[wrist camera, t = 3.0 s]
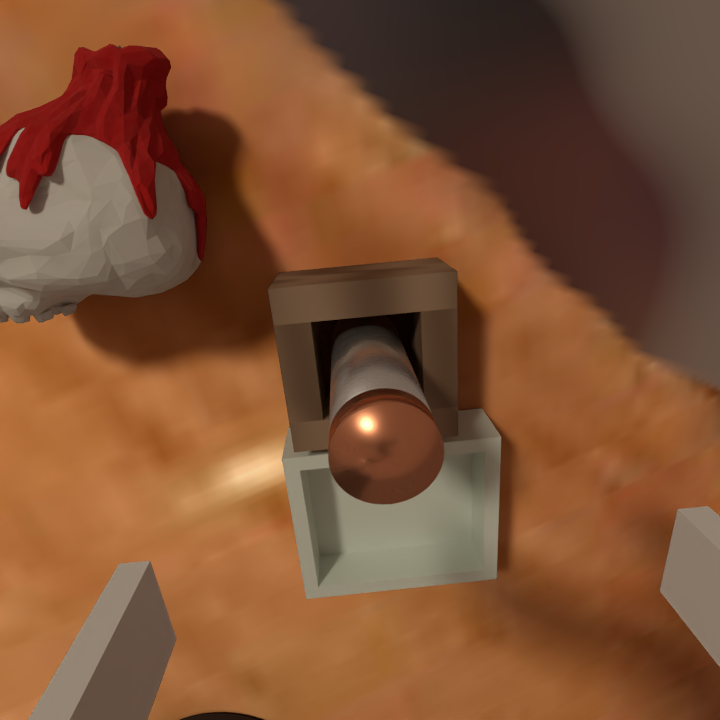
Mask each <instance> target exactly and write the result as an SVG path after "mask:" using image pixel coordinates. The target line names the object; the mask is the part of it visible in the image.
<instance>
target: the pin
mask: <svg viewBox="0 0 720 720" xmlns="http://www.w3.org/2000/svg"><path fill="white" fill-rule="evenodd" d="M443 460H444V443H443V439H442V436H441V434H440V432H439V429H438V427H437V425H436V422H435V420H434V418H433V415H432V413H431V410H430V408H429V406H428V403H427V401H426V399H425V396H424V394H423V392H422V389H421V387H420V384H419V382H418V380H417V377H416V375H415V373H414V370H413V368H412V366H411V363H410V361H409V358H408V356H407V354H406V351H405V349H404V347H403V344H402V342H401V340H400V337H399V335H398V333H397V330H396V328H395V325H394V324H393V322H392V321H391V319H390V318H389V317H388V316H387V315H379V316H369V317H359V318H348V319H340V320H339V321H338V323H337V324H336V326H335V328H334V331H333V335H332V356H331V385H330V415H329V445H328V463H329V468H330V471H331V474H332V476H333V478H334V479H335V481H336V482H337V484H338V485H339V486H340V487H341V488H342V489H343V490H344V491H345V492H346V493H348V494H349V495H351V496H352V497H354V498H356V499H358V500H361V501H364V502H367V503H372V504H382V505H384V504H395V503H400V502H403V501H406V500H409V499H411V498H413V497H415V496H417V495H419V494H420V493H422V492H423V491H424V490H426V489H427V488H428V487H429V486H430V485H431V484H432V483H433V482H434V480H435V479H436V477H437V476H438V474H439V472H440V470H441V467H442V465H443Z"/></svg>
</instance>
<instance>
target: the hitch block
mask: <svg viewBox="0 0 720 720" xmlns="http://www.w3.org/2000/svg"><path fill="white" fill-rule="evenodd" d="M268 294H269V300H270V306H271V313H272V319H273V325H274V331H275V337H276V344H277V350H278V356H279V362H280V368H281V374H282V381H283V387H284V393H285V399H286V405H287V412H288V418H289V424H290V430H291V436H292V442H293V449H294V452H304V451H314V450H324V449H328V445H329V415H330V385H325V378H324V370H323V362H322V354H321V346H320V338H319V330H318V322H317V321H327V320H338V319H348V318H359V317H369V316H379V315H390V314H400V313H408V316H409V336H410V357H411V366H412V368H413V370H414V373H415V375H416V377H417V380H418V382H419V384H420V387H421V389H422V392H423V394H424V396H425V399H426V401H427V403H428V406H429V408H430V410H431V413H432V415H433V418H434V420H435V422H436V425H437V427H438V429H439V432H440V434H441V436H442V438H444V437H454V436H458V301H457V271H456V270H455V269H453V268H452V267H450V266H449V265H448V264H446V263H445V262H443V261H442V260H440V259H439V258H428V259H418V260H407V261H397V262H386V263H375V264H365V265H354V266H343V267H333V268H322V269H312V270H301V271H290V272H280V273H279V274H278V275H277V276H276V278H275V279H274V281H273V282H272V284H271V285H270V286H269V288H268Z"/></svg>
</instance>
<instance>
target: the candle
mask: <svg viewBox="0 0 720 720" xmlns="http://www.w3.org/2000/svg"><path fill="white" fill-rule="evenodd" d="M170 69H171V65H170V61H169V60H168V59H167V57H166V56H165V55H164V54H163V53H162V52H161V51H160V50H159V49H157V48H150V47H142V46H127V47H123V48H121V47H120V46H118V47H117V46H115V45H112V44H109V45H107V46H105V47H103V48H102V49H100V50H98V51H91V50H89V49H86V48H84V47H81V48H78V50H77V51H76V53H75V58H74V66H73V73H72V80H71V82H70V84H69V86H68V88H67V90H66V91H65V92H64V94H63V95H62V96H60V97H59V98H57V99H55V100H53V101H51V102H48V103H46V104H44V105H42V106H40V107H37V108H35V109H32V110H29V111H25V112H22V113H19V114H16V115H15V116H14V117H12V118H11V119H10V120H8V121H7V122H6V123H4V124H2V125H1V126H0V323H2V322H7V321H8V317H10V318H11V319H12V320H13V321H14V322H16V323H24V322H28V321H30V316H31V315H33V316H34V317H35V319H36V320H37V321H38V322H39V323H40V322H44V321H47V320H50V319H52V318H53V317H54V315H58V314H61V313H62V314H63V315H64V316H67V315H70V314H72V313H75V311H76V308H77V304H78V303H79V302H81V301H82V300H84V299H85V298H86V297H88V296H90V295H92V294H97V295H109V296H121V297H134V298H136V297H142V296H147V295H153V294H159V293H162V292H165V291H167V290H169V289H171V288H174V287H175V286H177V285H179V284H181V283H182V282H184V281H186V280H188V278H189V277H190V276H191V275H192V274H193V273H194V272H195V271H196V270H197V268H198V266H199V264H200V262H201V261H203V257H204V249H205V242H206V228H207V216H206V204H205V198H204V195H203V192H202V191H201V189H200V187H199V186H198V184H197V183H196V181H195V180H194V179H193V177H192V176H191V175H190V173H189V172H188V171H187V170H186V168H185V167H184V166H183V165H182V164H181V162H180V158H179V155H178V152H177V150H176V148H175V147H174V145H173V143H172V142H171V140H170V138H169V137H168V135H167V133H166V130H165V128H164V126H163V122H162V116H161V110H162V109H164V108H165V107H166V106H167V98H168V97H167V91H166V79H167V76H168V74H169V71H170Z"/></svg>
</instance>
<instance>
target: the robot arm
mask: <svg viewBox="0 0 720 720" xmlns="http://www.w3.org/2000/svg"><path fill="white" fill-rule="evenodd" d="M660 592H661V593H662V594H663V596H664V597H665V598H666V600H667V601H668V602H669V603H670V605H671V606H672V607H673V608H674V610H675V611H676V612H677V613H678V615H679V616H680V617H681V619H682V620H683V621H684V622H685V624H686V625H687V626H688V627H689V629H690V630H691V631H692V633H693V634H694V635H695V636H696V638H697V639H698V640H699V641H700V643H701V644H702V645H703V647H704V648H705V649H706V650H707V652H708V653H709V654H710V655H711V657H712V658H713V659H714V660H715V662H716V663H717V664H718V666H719V667H720V516H719V515H718V514H716V513H715V512H714V511H713V510H712V509H711V508H710V507H708V506H706V507H696V508H686V509H678V510H677V515H676V519H675V524H674V528H673V533H672V538H671V542H670V547H669V551H668V556H667V560H666V565H665V569H664V574H663V579H662V583H661V588H660ZM175 642H176V636H175V633H174V630H173V627H172V624H171V621H170V618H169V615H168V612H167V609H166V606H165V603H164V600H163V597H162V594H161V591H160V589H159V586H158V583H157V580H156V577H155V574H154V571H153V568H152V565H151V562H150V561H144V562H133V563H123V564H119V565H118V567H117V568H116V570H115V572H114V573H113V575H112V577H111V579H110V580H109V582H108V584H107V585H106V587H105V589H104V591H103V592H102V594H101V596H100V597H99V599H98V601H97V603H96V604H95V606H94V608H93V609H92V611H91V613H90V615H89V616H88V618H87V620H86V621H85V623H84V625H83V627H82V628H81V630H80V632H79V633H78V635H77V637H76V639H75V640H74V642H73V644H72V645H71V647H70V649H69V651H68V652H67V654H66V656H65V657H64V659H63V661H62V663H61V664H60V666H59V668H58V669H57V671H56V673H55V675H54V676H53V678H52V680H51V681H50V683H49V685H48V687H47V688H46V690H45V692H44V693H43V695H42V697H41V699H40V700H39V702H38V704H37V705H36V707H35V709H34V711H33V712H32V714H31V716H30V717H29V719H28V720H147V719H148V717H149V714H150V711H151V708H152V706H153V703H154V700H155V697H156V694H157V692H158V689H159V686H160V683H161V681H162V678H163V675H164V672H165V669H166V667H167V664H168V661H169V658H170V656H171V653H172V650H173V647H174V645H175ZM182 720H258V719H255V718H251V717H247V716H243V715H237V714H226V713H213V714H203V715H196V716H192V717H188V718H184V719H182Z"/></svg>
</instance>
